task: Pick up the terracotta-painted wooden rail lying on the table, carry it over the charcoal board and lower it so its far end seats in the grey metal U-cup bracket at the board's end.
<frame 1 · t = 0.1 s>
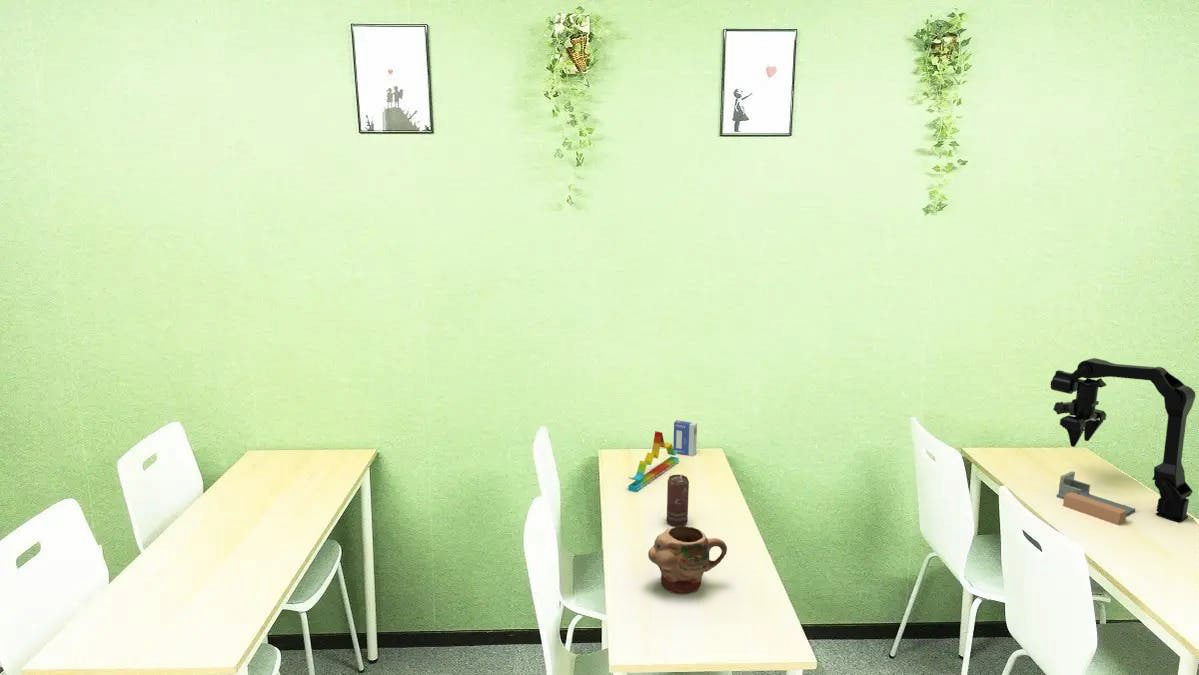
hand: (1079, 443, 263), 15 cm above the table, fingers open, 9 cm apart
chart: (654, 477, 273), on the table
board: (1094, 503, 253), on the table
bracket: (1074, 497, 258), resting on board
rail: (1093, 514, 246), on the table
can: (677, 522, 238), on the table
walkman: (684, 454, 293), on the table
brown sculpted mug: (686, 585, 204), on the table
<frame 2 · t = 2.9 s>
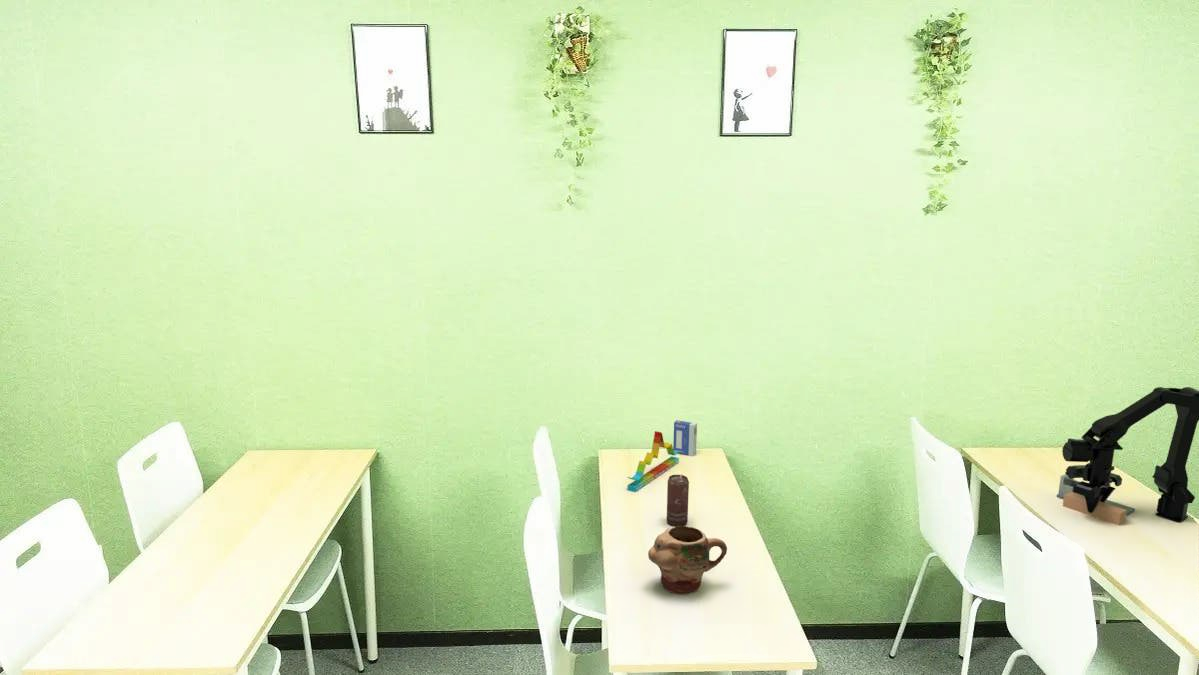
hand: (1093, 510, 246), 1 cm above the table, fingers closed on rail, 4 cm apart
rail: (1093, 514, 246), on the table, touching gripper
everything else where it was.
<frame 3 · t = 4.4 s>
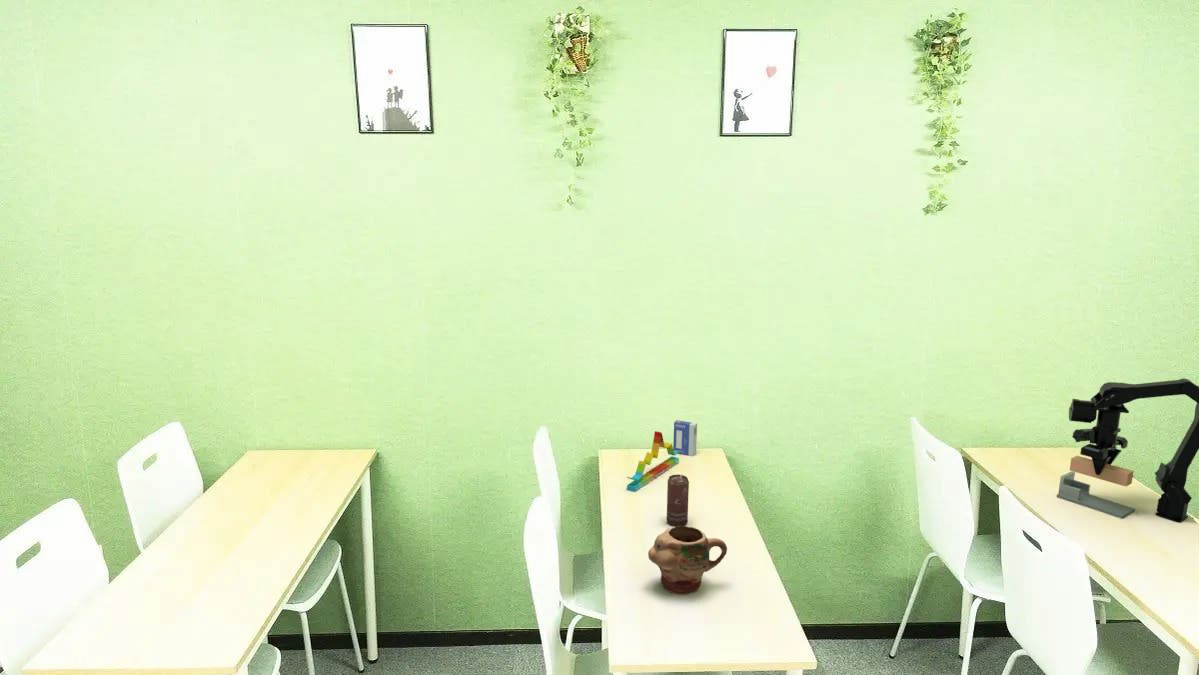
hand: (1100, 472, 249), 11 cm above the table, fingers closed on rail, 4 cm apart
rail: (1100, 476, 249), point 10 cm above the table, touching gripper
everything else where it was.
when the fingers open (3 cm above the table, at t = 6.0 s): rail stays where it is, resting on board.
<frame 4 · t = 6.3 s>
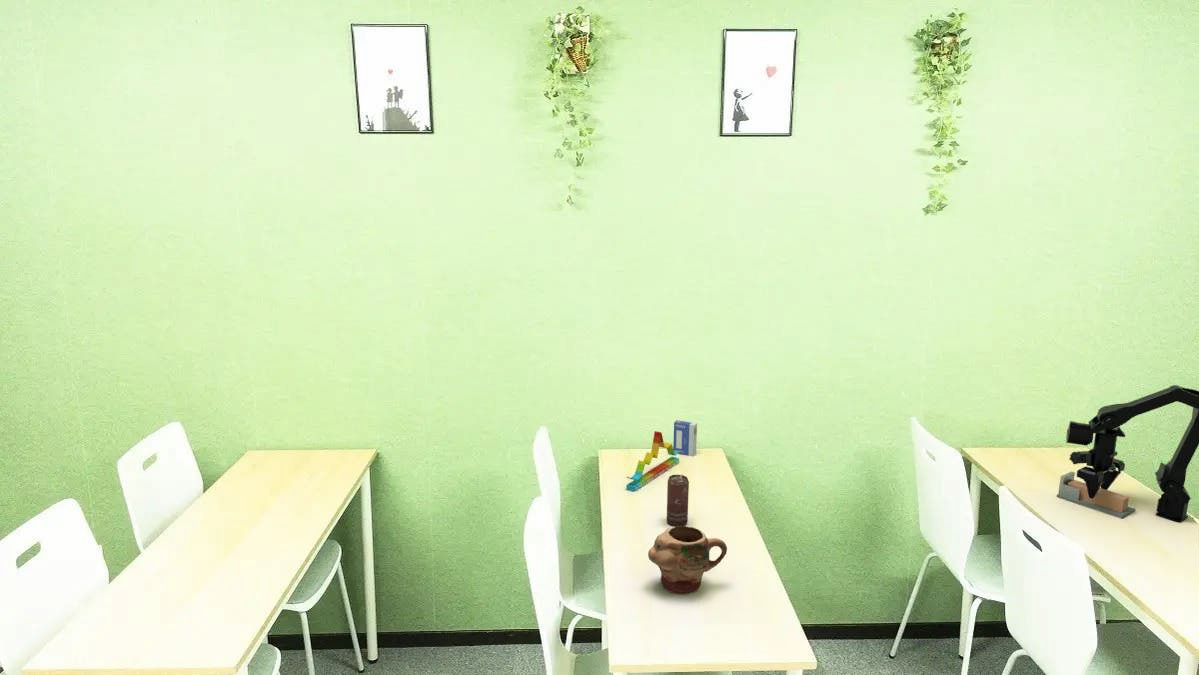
hand: (1097, 495, 252), 3 cm above the table, fingers open, 8 cm apart
rail: (1096, 501, 252), point 1 cm above the table, touching board
everything else where it was.
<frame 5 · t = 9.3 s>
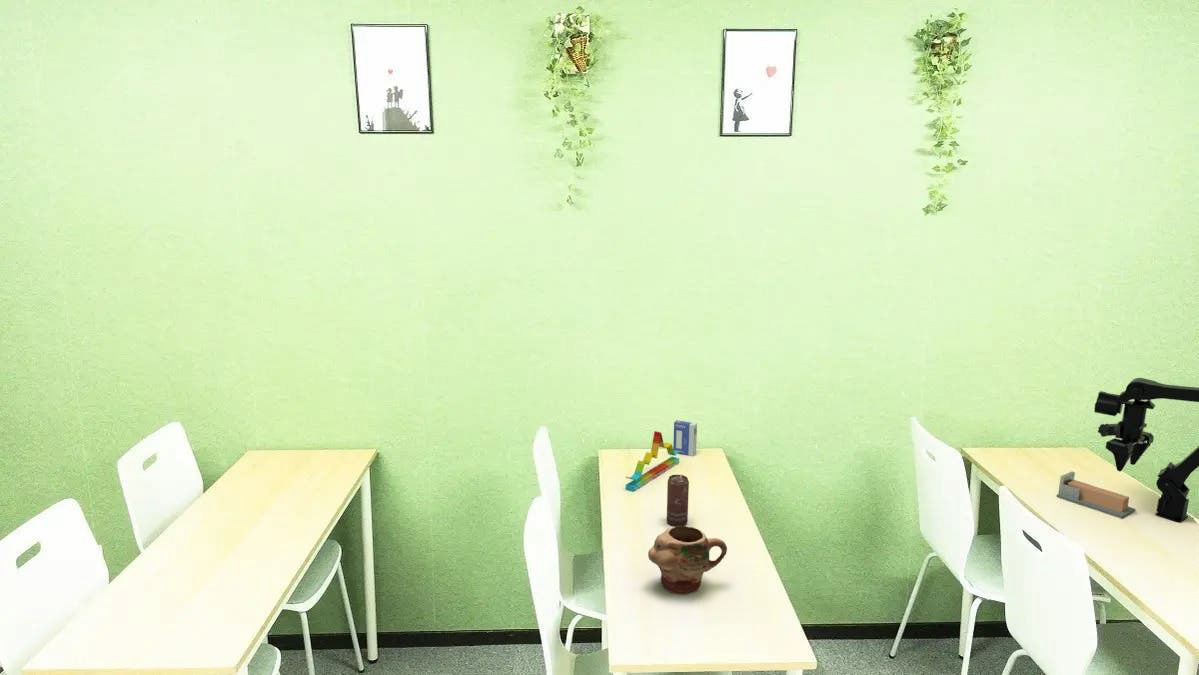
hand: (1125, 467, 250), 12 cm above the table, fingers open, 9 cm apart
nothing on the table moved.
at the end: rail 0.3 cm from the target spot on the table beside the bracket, point 0.8 cm above the table; rail tilted 0°; the gripper is holding nothing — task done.
